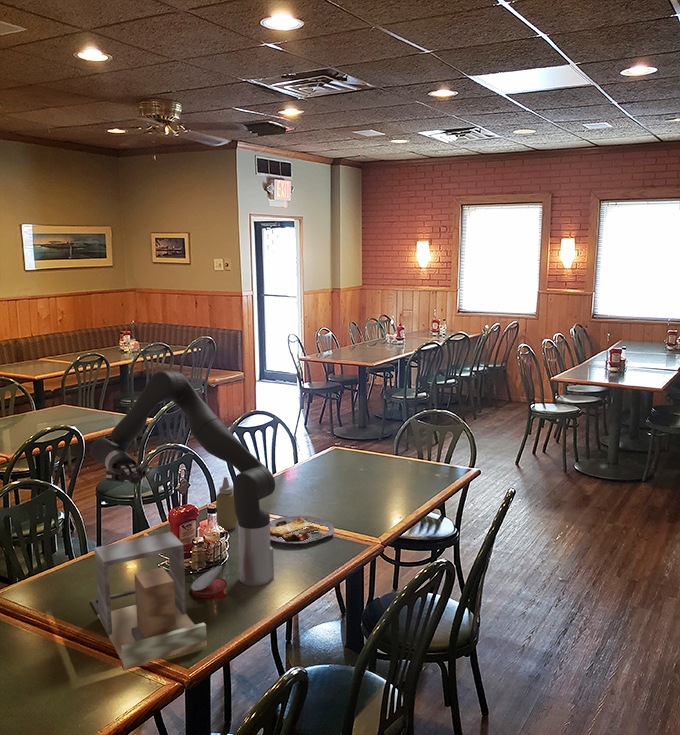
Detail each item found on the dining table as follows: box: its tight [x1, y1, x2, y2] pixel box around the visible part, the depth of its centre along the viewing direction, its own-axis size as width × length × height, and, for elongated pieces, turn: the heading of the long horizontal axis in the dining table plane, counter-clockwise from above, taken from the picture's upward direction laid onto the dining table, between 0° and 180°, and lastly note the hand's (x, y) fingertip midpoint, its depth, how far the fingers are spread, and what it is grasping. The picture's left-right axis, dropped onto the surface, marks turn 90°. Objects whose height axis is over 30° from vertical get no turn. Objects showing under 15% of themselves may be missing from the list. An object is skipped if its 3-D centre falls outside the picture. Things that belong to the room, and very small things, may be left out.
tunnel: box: [90, 531, 208, 672], centre depth 183 cm, size 20×35×21 cm, turn 31°
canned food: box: [190, 565, 228, 602], centre depth 201 cm, size 11×10×10 cm
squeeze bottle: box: [215, 476, 238, 531], centre depth 249 cm, size 8×8×18 cm
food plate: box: [270, 514, 335, 545], centre depth 244 cm, size 25×23×4 cm
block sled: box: [131, 566, 179, 641], centre depth 175 cm, size 10×9×16 cm
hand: (136, 480), depth 201 cm, fingers closed
